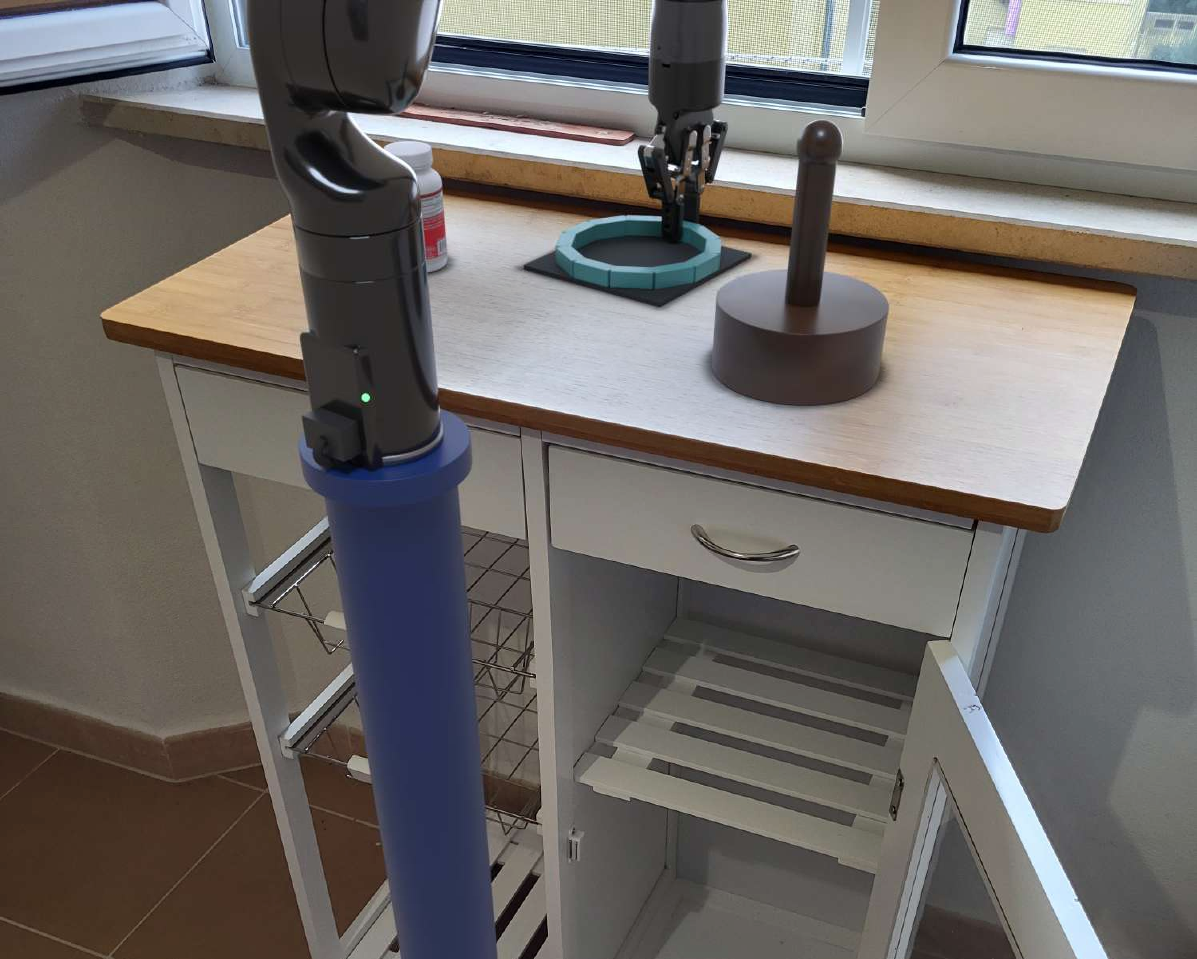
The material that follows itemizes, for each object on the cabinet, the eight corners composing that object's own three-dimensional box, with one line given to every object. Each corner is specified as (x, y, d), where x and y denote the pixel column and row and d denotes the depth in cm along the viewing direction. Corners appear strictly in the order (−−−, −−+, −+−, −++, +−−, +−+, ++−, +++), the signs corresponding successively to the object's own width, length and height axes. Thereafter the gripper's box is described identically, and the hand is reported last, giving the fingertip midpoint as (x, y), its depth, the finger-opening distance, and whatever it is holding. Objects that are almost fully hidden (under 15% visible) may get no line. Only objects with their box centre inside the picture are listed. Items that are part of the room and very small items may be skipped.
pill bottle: (380, 259, 128) (366, 143, 121) (435, 250, 130) (425, 135, 123) (400, 279, 124) (388, 160, 117) (457, 269, 126) (448, 151, 119)
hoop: (659, 301, 119) (660, 285, 118) (524, 264, 126) (524, 248, 125) (750, 252, 129) (751, 236, 128) (620, 220, 136) (620, 205, 135)
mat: (659, 307, 119) (660, 303, 119) (523, 268, 126) (523, 264, 126) (751, 257, 129) (751, 253, 129) (620, 224, 136) (620, 220, 136)
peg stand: (827, 421, 101) (863, 159, 88) (679, 375, 107) (691, 125, 94) (906, 361, 110) (950, 115, 96) (765, 322, 116) (788, 86, 103)
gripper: (694, 31, 126) (686, 210, 137) (614, 57, 117) (613, 245, 129) (758, 41, 122) (743, 224, 134) (680, 69, 114) (672, 261, 126)
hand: (679, 234), depth 131 cm, fingers closed
